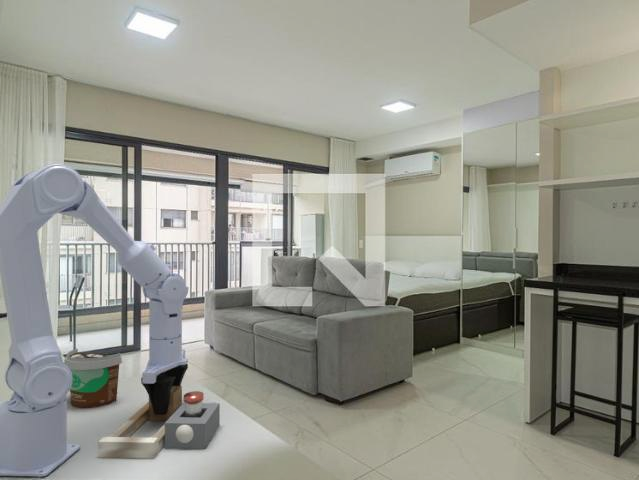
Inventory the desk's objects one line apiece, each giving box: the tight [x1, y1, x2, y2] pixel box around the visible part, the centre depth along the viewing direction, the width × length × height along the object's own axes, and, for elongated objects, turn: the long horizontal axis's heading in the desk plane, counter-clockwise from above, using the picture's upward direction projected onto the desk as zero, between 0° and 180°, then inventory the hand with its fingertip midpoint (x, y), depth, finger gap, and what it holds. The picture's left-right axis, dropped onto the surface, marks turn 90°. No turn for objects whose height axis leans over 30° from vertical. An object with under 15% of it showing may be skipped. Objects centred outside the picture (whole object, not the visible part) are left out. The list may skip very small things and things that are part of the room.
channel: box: [97, 401, 185, 459], centre depth 70 cm, size 9×18×2 cm, turn 178°
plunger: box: [183, 390, 205, 418], centre depth 68 cm, size 3×3×5 cm
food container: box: [63, 348, 123, 409], centre depth 81 cm, size 12×6×10 cm, turn 73°
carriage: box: [148, 385, 183, 422], centre depth 76 cm, size 5×4×5 cm
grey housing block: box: [164, 402, 221, 450], centre depth 68 cm, size 6×8×4 cm
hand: (165, 408), depth 76 cm, fingers closed on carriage, 4 cm apart
